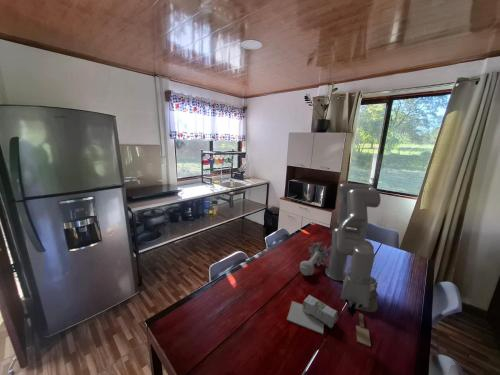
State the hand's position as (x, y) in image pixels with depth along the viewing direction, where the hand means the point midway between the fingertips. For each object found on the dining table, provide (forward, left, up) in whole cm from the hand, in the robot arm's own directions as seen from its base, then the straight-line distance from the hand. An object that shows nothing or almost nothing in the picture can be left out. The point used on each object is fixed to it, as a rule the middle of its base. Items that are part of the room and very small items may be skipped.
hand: (351, 313), depth 87 cm
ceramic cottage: (-25, +7, -10) cm, 28 cm away
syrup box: (0, -5, -7) cm, 9 cm away
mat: (0, -18, -10) cm, 21 cm away
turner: (-4, +6, -10) cm, 13 cm away
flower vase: (-41, -20, -10) cm, 47 cm away
